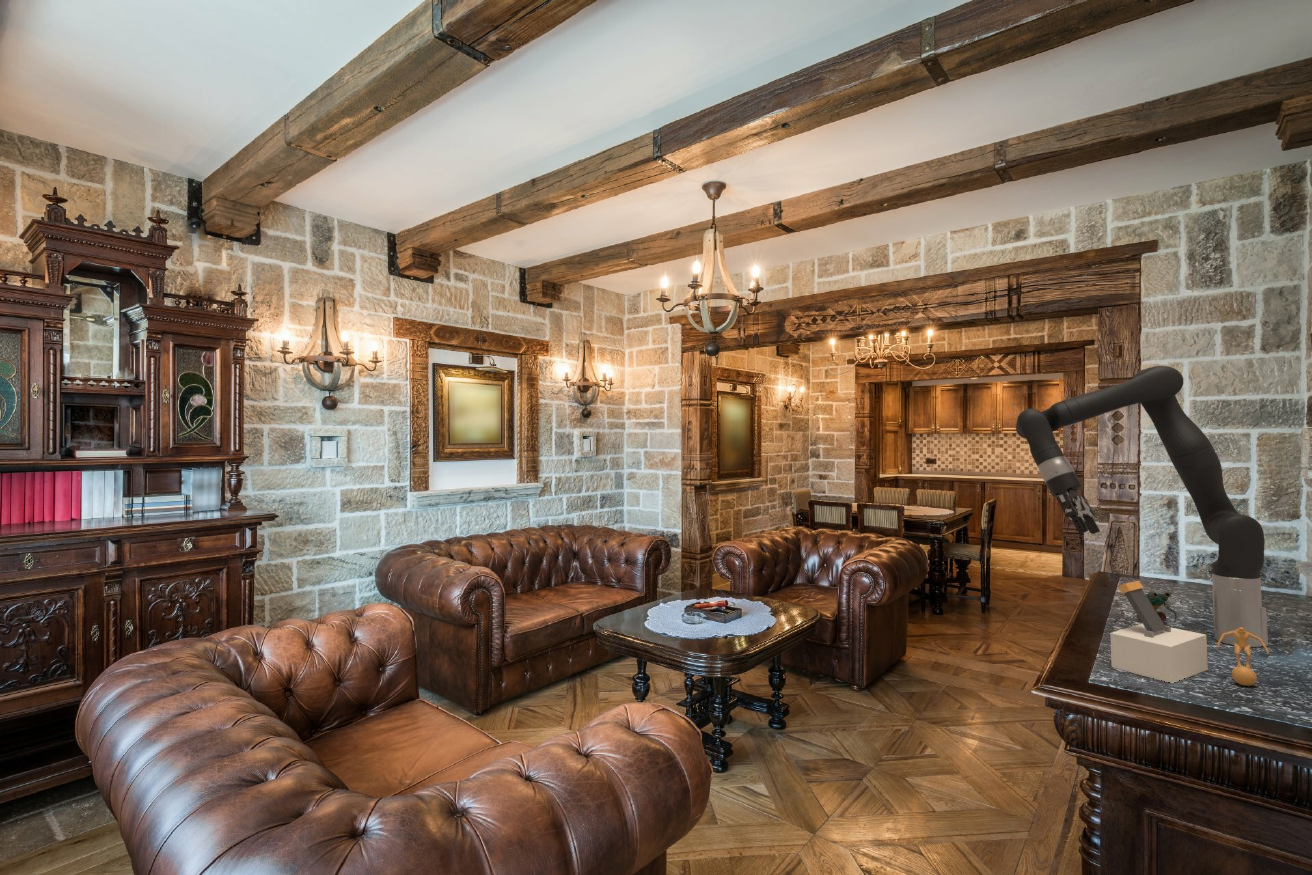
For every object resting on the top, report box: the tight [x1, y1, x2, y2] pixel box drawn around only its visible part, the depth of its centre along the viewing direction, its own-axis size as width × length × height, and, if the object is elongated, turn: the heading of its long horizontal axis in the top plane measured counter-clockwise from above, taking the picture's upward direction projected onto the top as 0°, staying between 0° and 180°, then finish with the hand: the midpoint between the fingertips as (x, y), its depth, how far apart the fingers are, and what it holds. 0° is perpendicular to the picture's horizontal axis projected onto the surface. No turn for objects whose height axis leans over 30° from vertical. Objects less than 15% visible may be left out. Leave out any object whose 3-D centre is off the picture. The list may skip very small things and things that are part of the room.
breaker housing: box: [1110, 622, 1209, 684], centre depth 146 cm, size 12×16×9 cm
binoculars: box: [1136, 590, 1178, 627], centre depth 178 cm, size 9×9×10 cm
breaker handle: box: [1117, 580, 1166, 634], centre depth 148 cm, size 2×6×12 cm
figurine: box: [1216, 627, 1270, 687], centre depth 136 cm, size 8×6×12 cm
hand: (1090, 532), depth 163 cm, fingers open, 8 cm apart
